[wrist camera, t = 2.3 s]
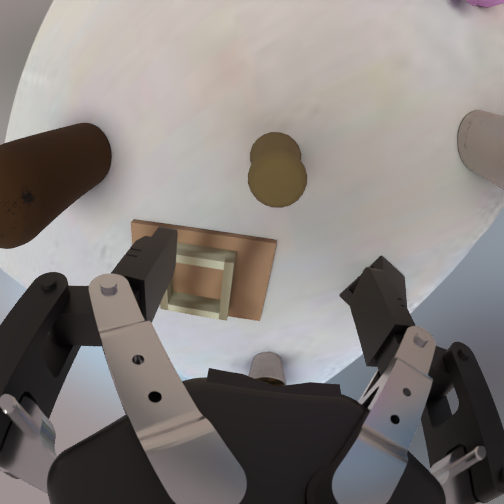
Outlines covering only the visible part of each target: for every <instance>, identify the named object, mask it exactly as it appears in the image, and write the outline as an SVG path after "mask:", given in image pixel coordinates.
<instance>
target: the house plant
mask: <svg viewBox="0 0 504 504" xmlns="http://www.w3.org/2000/svg"><path fill="white" fill-rule="evenodd" d="M249 377H252V378H255V379H257V380H260V381H263V382H266V383H269V384H271V385H275V386H286V381H285V377H284V372H283V367H282V363H281V358H280V357H279V356H278V355H277V354H275V353H272V352H264V353H260V354H257V355H256V356H255V357H254V359H253V362H252V366H251V369H250V373H249Z"/></svg>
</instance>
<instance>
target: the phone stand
mask: <svg viewBox="0 0 504 504" xmlns="http://www.w3.org/2000/svg"><path fill="white" fill-rule="evenodd" d="M369 268H374V269H379V270H383V271H384V273H385V275H386V277H387V279H388V280H389V282H390V283H391V284H392V285H393V286H394V287H395V288H396V289H397V290H398V292H399V293H400V295H401V297H402V300H403V301H404V303H405V305H406V306H405V307H407V300H406V288H405V277H404V276H403V275H402V274H401V273H400V272H399V271H398V270H397V269H396V268H395V267H394V266H392V265H391V264H390V263H389V262H388V261H387V260H386V259H385V258H384V257H382V256H380V257H379V258H378V259H377V260H376V261H375V262H374V263H373V264H372V265H371V266H370V267H369ZM361 275H362V274H361ZM360 277H361V276H360ZM360 277H358V278H357V279H356V280H355V281H354V282H353V283H352V284H350V285H349V286H348V287H347V288H346V289H345V290H344V291H343V292H342V293H341V294H340V297H341V298H342V299H343V300H344V301H345V302H346V303H347V304H348V305H349V306H350V302H351V297H352V295H353V292H354V290H355V288H356V286H357V284H358V282H359V280H360Z"/></svg>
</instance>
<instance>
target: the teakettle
mask: <svg viewBox="0 0 504 504" xmlns="http://www.w3.org/2000/svg"><path fill="white" fill-rule="evenodd" d="M466 1H467V2H468V3H470V4H471V5H472V6H474V5H478V6H483V7H492V6H496V5H499V4H502V3H504V0H466Z"/></svg>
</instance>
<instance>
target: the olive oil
mask: <svg viewBox="0 0 504 504" xmlns="http://www.w3.org/2000/svg"><path fill="white" fill-rule="evenodd" d="M110 163H111V150H110V145H109V142H108V140H107V138H106V136H105V135H104V133H103V132H102V131H101V130H100V129H99V128H98V127H96V126H94V125H92V124H89V123H80V124H75V125H71V126H67V127H63V128H59V129H55V130H51V131H47V132H43V133H39V134H36V135H32V136H28V137H25V138H21V139H18V140H14V141H11V142H8V143H4V144H2V145H0V248H4V249H10V248H15V247H18V246H21V245H23V244H26V243H28V242H29V241H31V240H32V239H34V238H35V237H36V236H37V235H38V234H39V233H40V232H41V231H42V230H43V229H44V228H45V227H46V226H48V225H49V224H50V223H51V222H52V221H53V220H54V219H55V218H56V217H57V216H58V215H60V214H61V213H62V212H63V211H64V210H65V209H67V208H68V207H69V206H70V205H71V204H72V203H74V202H75V201H76V200H77V199H79V198H80V197H81V196H82V195H84V194H85V193H86V192H88V191H89V190H90V189H92V188H93V187H95V186H96V185H97V184H99V183H100V182H101V181H102V180H103V179H104V178H105V176H106V175H107V173H108V170H109V168H110Z"/></svg>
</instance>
